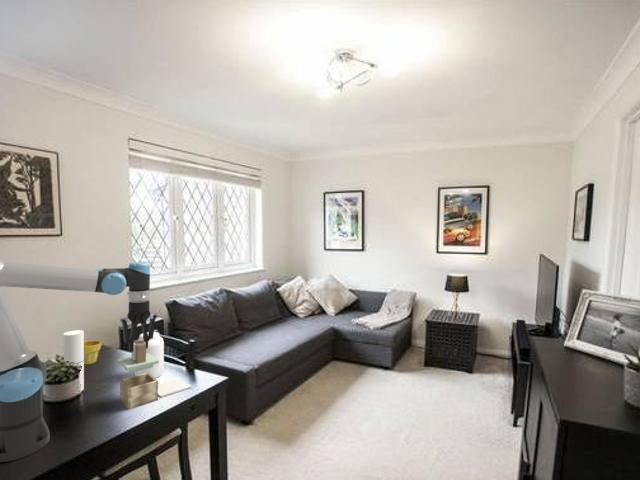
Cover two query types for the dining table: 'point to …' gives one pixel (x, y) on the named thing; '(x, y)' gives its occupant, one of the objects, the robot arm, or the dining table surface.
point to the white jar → (154, 355)
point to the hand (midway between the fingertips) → (138, 357)
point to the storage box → (138, 390)
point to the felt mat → (172, 387)
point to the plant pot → (91, 351)
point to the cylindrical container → (74, 350)
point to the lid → (139, 359)
